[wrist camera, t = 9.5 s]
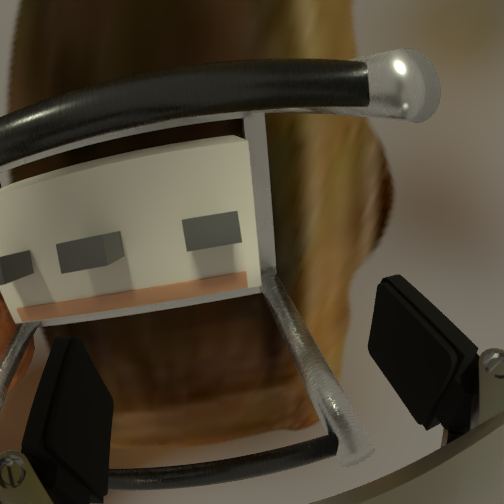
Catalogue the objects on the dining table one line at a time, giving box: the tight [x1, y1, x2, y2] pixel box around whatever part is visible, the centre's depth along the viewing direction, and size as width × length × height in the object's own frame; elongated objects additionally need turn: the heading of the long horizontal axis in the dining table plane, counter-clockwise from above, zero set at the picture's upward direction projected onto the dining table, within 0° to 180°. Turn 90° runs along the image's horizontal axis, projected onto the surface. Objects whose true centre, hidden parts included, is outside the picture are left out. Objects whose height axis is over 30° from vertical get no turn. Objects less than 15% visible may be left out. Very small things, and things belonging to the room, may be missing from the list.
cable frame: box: [0, 48, 441, 490], centre depth 16 cm, size 17×25×19 cm
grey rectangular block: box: [0, 250, 34, 285], centre depth 16 cm, size 2×3×4 cm, turn 96°
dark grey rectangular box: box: [56, 231, 124, 274], centre depth 17 cm, size 2×3×4 cm, turn 96°
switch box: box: [0, 135, 262, 324], centre depth 22 cm, size 10×20×6 cm, turn 96°
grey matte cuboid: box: [182, 211, 242, 252], centre depth 18 cm, size 2×3×4 cm, turn 96°
